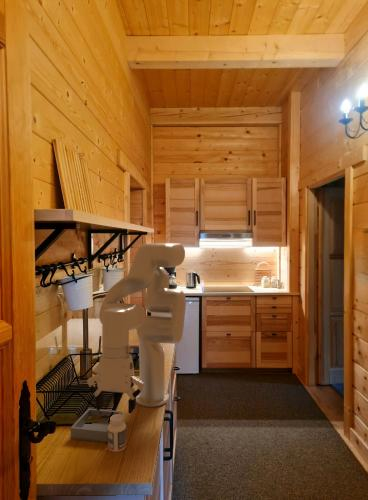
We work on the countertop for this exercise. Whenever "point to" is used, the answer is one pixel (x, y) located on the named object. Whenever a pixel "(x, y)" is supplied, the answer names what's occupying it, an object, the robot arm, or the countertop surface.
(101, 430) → the bin
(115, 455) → the countertop surface
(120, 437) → the pill bottle
